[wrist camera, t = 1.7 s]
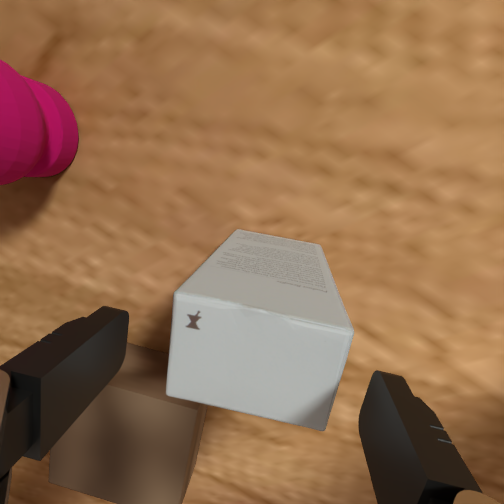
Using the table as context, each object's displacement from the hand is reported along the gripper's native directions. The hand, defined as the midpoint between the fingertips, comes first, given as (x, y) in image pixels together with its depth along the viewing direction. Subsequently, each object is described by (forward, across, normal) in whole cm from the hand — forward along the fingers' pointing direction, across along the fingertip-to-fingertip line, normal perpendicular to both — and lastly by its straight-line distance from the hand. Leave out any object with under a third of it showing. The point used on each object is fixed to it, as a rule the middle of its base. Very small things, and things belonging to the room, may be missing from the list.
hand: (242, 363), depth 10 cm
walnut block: (+13, +8, +14) cm, 21 cm away
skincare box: (+12, 0, 0) cm, 13 cm away
